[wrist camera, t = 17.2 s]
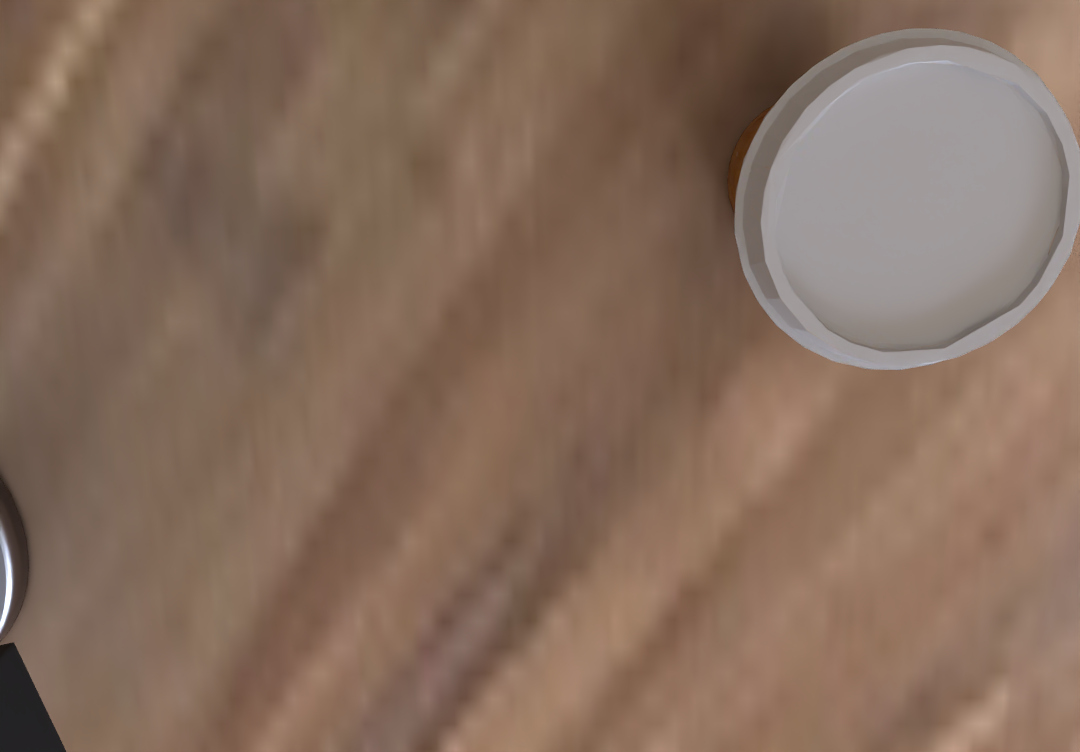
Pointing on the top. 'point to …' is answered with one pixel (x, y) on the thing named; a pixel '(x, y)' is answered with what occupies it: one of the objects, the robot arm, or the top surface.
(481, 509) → the top surface
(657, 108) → the top surface
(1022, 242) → the disposable coffee cup
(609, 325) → the top surface
